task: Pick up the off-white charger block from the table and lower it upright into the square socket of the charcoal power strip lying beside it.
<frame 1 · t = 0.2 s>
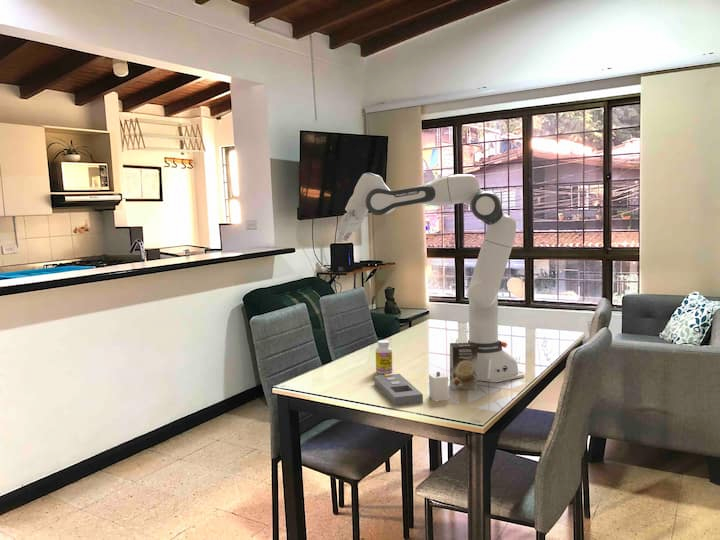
hand: (341, 240, 232), 54 cm above the table, tool tilted 30°, fingers open, 8 cm apart
coffee box: (463, 387, 211), on the table
supplement bottle: (384, 372, 234), on the table
power strip: (397, 392, 207), on the table
charger block: (438, 397, 200), on the table
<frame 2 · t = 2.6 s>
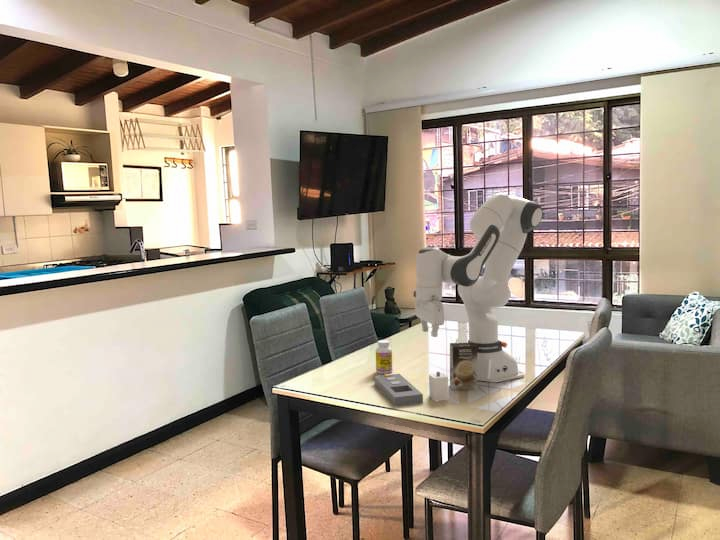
hand: (429, 334, 197), 23 cm above the table, tool pointing down, fingers open, 8 cm apart
nothing on the table moved.
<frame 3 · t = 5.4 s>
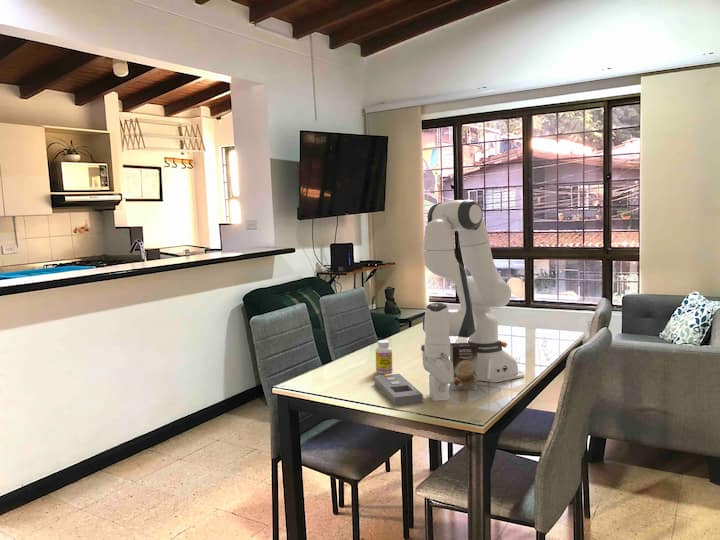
hand: (438, 389, 200), 3 cm above the table, tool pointing down, fingers closed on charger block, 5 cm apart
charger block: (438, 397, 200), on the table, touching gripper
everything else where it was.
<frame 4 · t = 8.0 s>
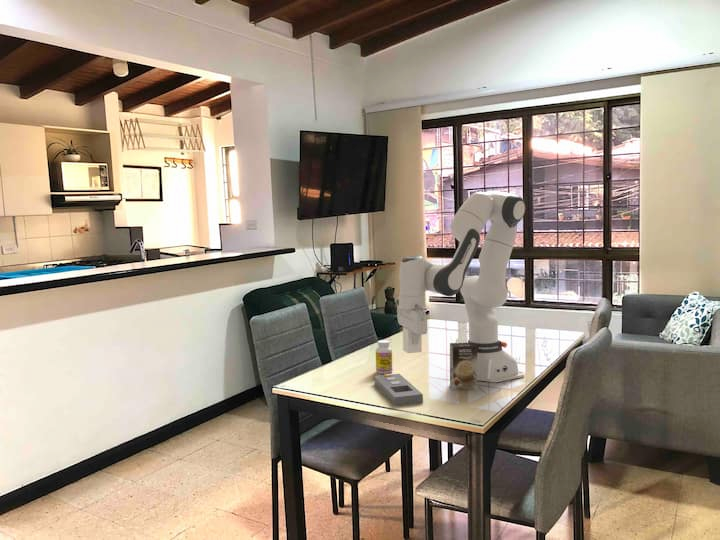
hand: (412, 342, 198), 20 cm above the table, tool pointing down, fingers closed on charger block, 5 cm apart
charger block: (412, 351, 199), point 17 cm above the table, touching gripper
everything else where it was.
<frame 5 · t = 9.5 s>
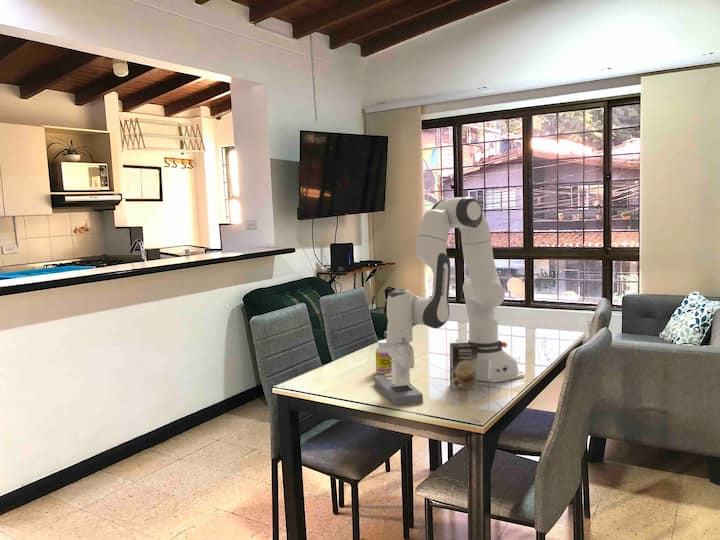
hand: (400, 374, 201), 8 cm above the table, tool pointing down, fingers closed on charger block, 5 cm apart
charger block: (400, 383, 201), point 5 cm above the table, touching gripper
everything else where it was.
when the fingers open (4 cm above the table, at t = 10.7 s): charger block drops 1 cm, resting in power strip.
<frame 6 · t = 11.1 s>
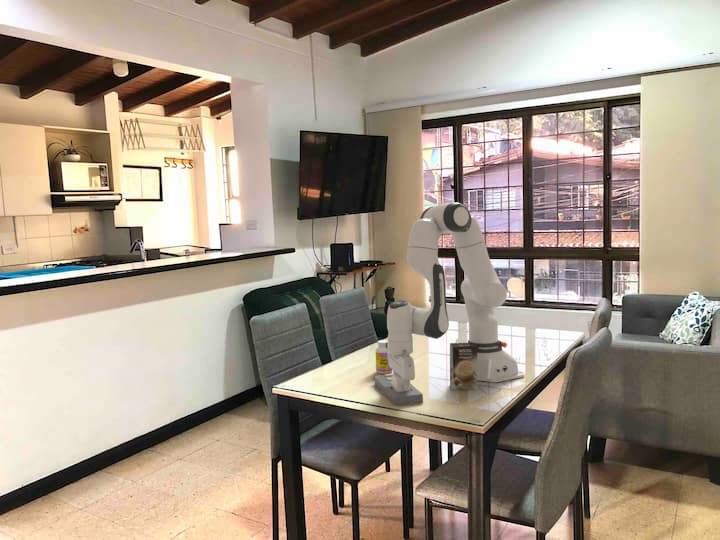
hand: (401, 385, 201), 4 cm above the table, tool pointing down, fingers open, 8 cm apart
charger block: (401, 397, 202), resting in power strip
everything else where it was.
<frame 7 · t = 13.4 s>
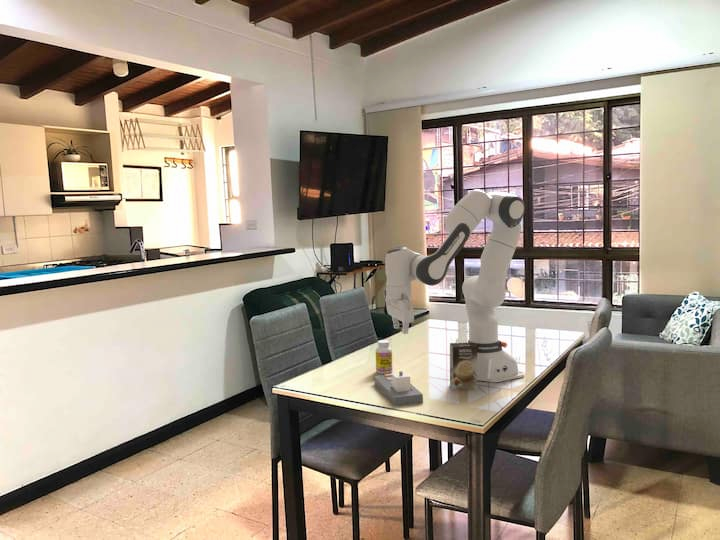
hand: (400, 330, 204), 23 cm above the table, tool pointing down, fingers open, 8 cm apart
nothing on the table moved.
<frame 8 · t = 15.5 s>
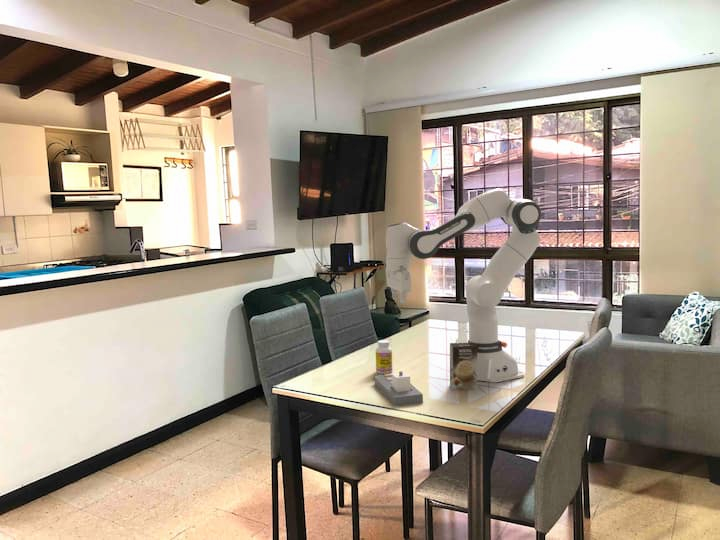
hand: (399, 301, 218), 31 cm above the table, tool pointing down, fingers open, 8 cm apart
nothing on the table moved.
at the end: charger block 0.0 cm from the target spot on the power strip, point 0.0 cm above the power strip's base; charger block tilted 0°; the gripper is holding nothing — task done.
